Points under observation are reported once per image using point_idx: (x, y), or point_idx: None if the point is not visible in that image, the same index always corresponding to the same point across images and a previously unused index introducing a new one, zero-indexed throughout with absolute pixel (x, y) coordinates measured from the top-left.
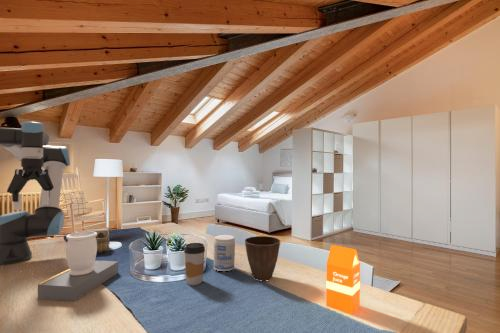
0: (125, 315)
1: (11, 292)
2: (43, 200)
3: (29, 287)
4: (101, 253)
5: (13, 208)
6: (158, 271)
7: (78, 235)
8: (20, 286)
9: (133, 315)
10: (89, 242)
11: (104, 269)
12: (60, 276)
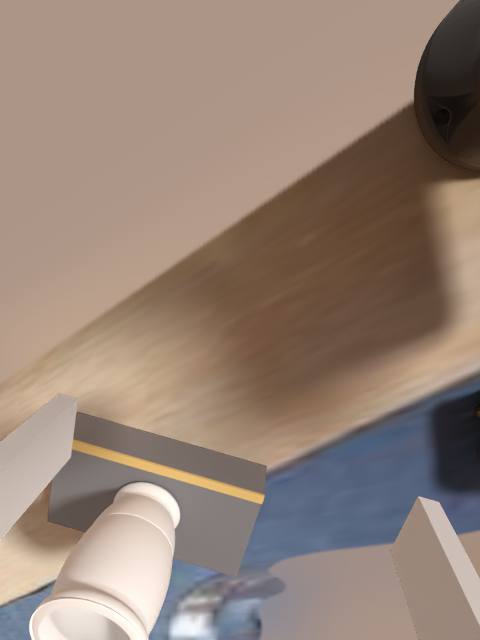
0: (19, 585)
1: (116, 324)
2: (432, 568)
3: (149, 354)
4: (478, 456)
5: (50, 400)
6: (240, 627)
7: (130, 607)
8: (157, 324)
9: (20, 596)
10: (77, 636)
11: None
12: (113, 466)
